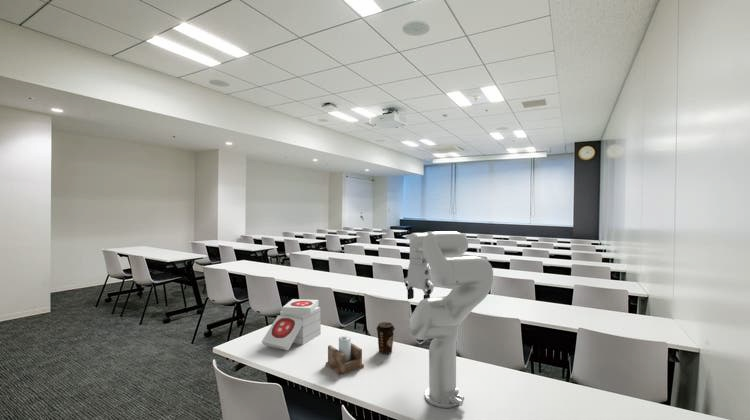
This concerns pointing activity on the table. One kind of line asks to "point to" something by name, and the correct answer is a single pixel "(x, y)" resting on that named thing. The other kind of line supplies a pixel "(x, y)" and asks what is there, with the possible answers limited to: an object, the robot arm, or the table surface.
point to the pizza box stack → (294, 324)
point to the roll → (345, 347)
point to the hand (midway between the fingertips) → (418, 301)
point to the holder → (338, 360)
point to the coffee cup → (385, 337)
